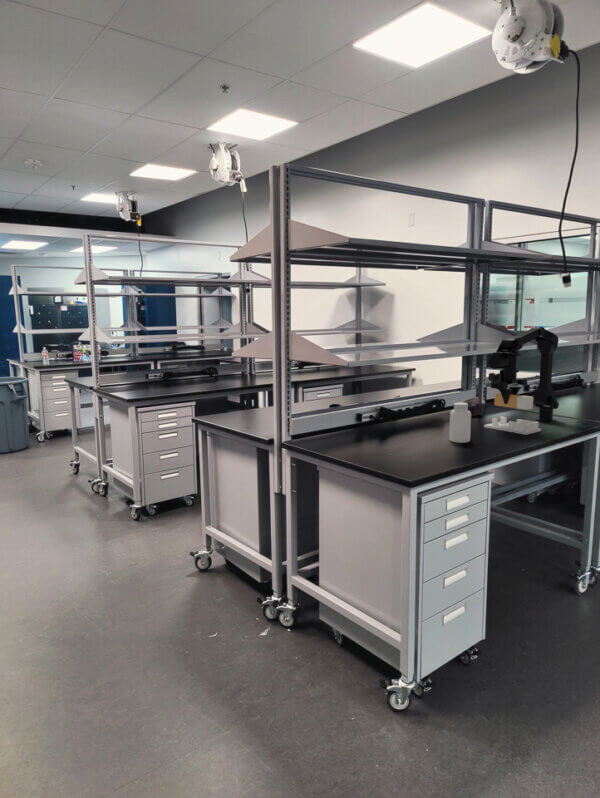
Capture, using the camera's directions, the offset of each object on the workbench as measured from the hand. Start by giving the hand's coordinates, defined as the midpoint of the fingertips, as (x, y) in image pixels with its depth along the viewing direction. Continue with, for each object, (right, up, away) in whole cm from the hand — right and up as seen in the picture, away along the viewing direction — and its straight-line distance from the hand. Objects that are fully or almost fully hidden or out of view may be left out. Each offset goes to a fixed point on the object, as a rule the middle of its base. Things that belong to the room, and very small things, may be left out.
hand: (508, 403), depth 232 cm
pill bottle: (-27, -15, -19) cm, 36 cm away
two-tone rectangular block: (+1, -1, -2) cm, 3 cm away
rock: (-6, -6, +32) cm, 33 cm away
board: (+1, -11, 0) cm, 11 cm away
